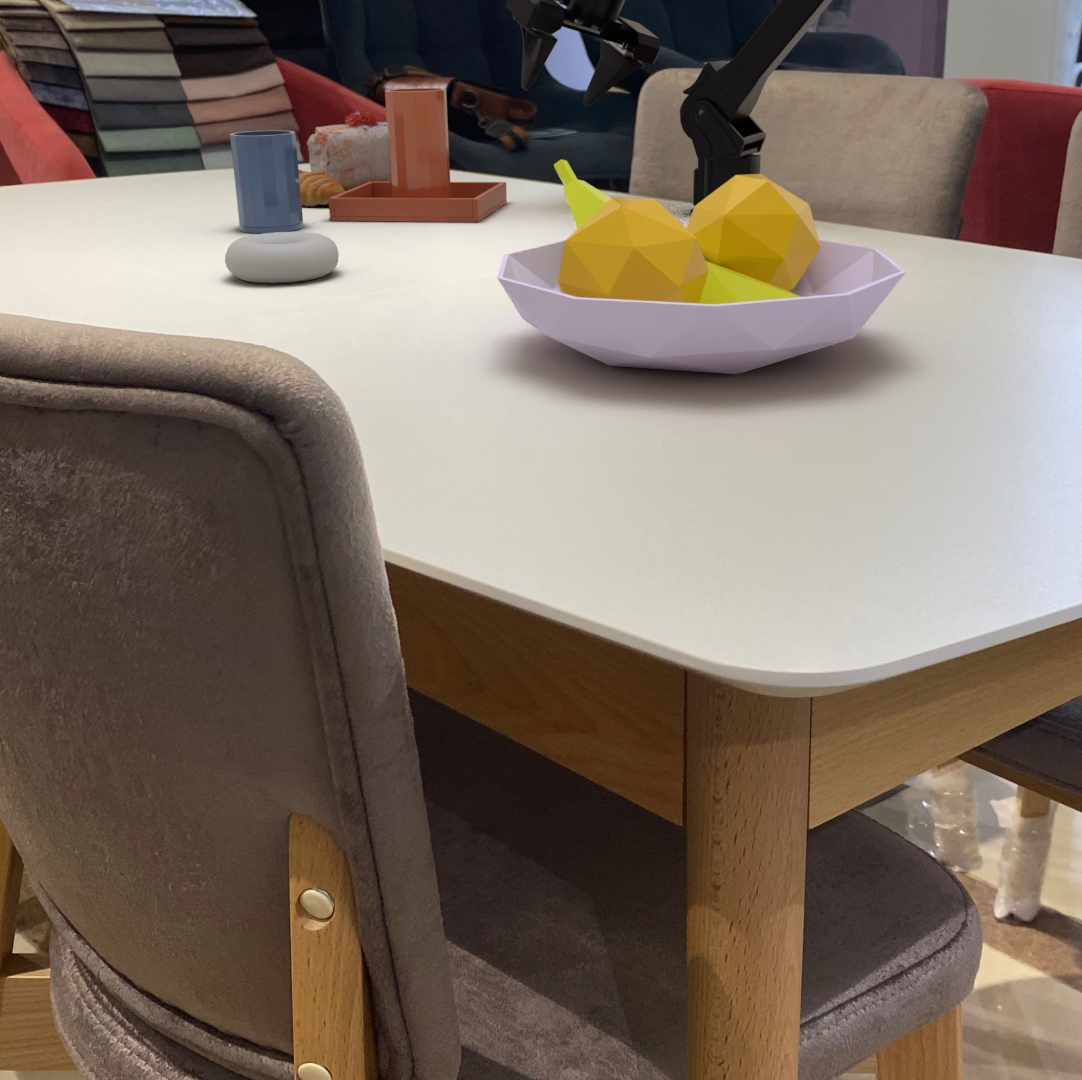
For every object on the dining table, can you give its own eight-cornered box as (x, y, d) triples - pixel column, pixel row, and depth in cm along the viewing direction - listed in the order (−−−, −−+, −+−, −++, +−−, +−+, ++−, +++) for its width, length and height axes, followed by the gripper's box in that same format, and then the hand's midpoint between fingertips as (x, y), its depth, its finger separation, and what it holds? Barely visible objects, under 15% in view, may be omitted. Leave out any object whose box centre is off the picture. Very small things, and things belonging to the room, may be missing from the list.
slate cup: (315, 225, 143) (308, 131, 140) (274, 235, 138) (265, 136, 134) (269, 222, 147) (260, 129, 143) (226, 231, 141) (216, 135, 137)
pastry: (360, 203, 159) (358, 171, 158) (315, 210, 155) (312, 177, 153) (315, 197, 165) (313, 166, 164) (271, 204, 161) (267, 172, 160)
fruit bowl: (977, 377, 80) (998, 188, 76) (558, 421, 73) (555, 217, 69) (775, 292, 105) (783, 146, 101) (448, 319, 98) (441, 164, 94)
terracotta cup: (455, 209, 149) (450, 90, 145) (396, 212, 148) (389, 92, 143) (445, 202, 156) (440, 87, 151) (389, 205, 154) (381, 89, 149)
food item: (320, 196, 166) (313, 116, 163) (309, 189, 173) (302, 112, 170) (423, 189, 171) (419, 111, 167) (408, 183, 178) (403, 107, 174)
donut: (307, 291, 110) (359, 267, 119) (303, 250, 109) (356, 229, 117) (205, 285, 113) (263, 263, 122) (200, 245, 112) (259, 225, 121)
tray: (506, 203, 157) (506, 182, 156) (478, 222, 143) (477, 199, 143) (370, 202, 160) (369, 181, 159) (329, 220, 147) (328, 198, 146)
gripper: (636, -42, 153) (582, 84, 161) (510, -88, 141) (458, 49, 149) (688, -4, 146) (629, 124, 154) (560, -50, 135) (503, 92, 143)
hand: (555, 97), depth 150 cm, fingers open, 9 cm apart
